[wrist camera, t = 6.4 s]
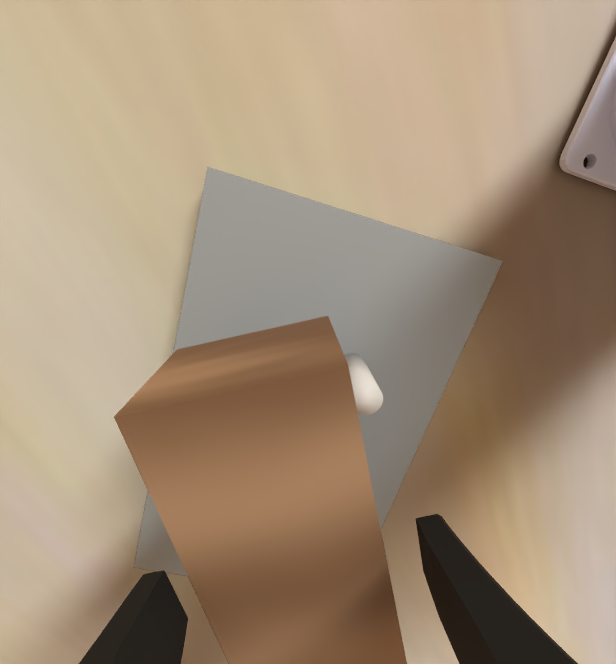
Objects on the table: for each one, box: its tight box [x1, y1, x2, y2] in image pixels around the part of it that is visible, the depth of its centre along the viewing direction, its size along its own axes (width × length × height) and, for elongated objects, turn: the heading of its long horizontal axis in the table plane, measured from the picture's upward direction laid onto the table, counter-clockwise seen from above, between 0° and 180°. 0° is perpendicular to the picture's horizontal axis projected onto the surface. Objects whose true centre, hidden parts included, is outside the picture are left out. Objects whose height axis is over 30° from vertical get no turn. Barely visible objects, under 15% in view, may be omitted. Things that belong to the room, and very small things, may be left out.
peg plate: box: [134, 167, 503, 576], centre depth 14 cm, size 12×20×4 cm, turn 164°
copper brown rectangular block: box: [114, 316, 407, 664], centre depth 11 cm, size 12×5×4 cm, turn 12°
